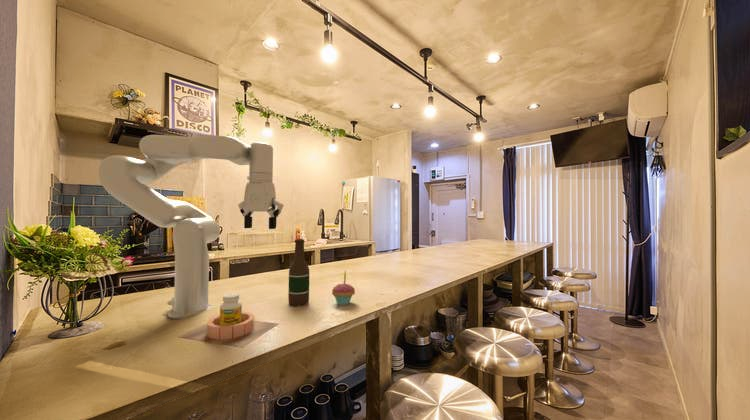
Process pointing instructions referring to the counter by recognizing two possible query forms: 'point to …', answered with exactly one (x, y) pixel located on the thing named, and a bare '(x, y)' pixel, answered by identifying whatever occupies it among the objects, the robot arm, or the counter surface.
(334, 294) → the cupcake
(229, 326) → the terracotta holder
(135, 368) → the counter surface
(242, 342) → the grey flat pad
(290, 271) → the beer bottle
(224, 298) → the supplement bottle
